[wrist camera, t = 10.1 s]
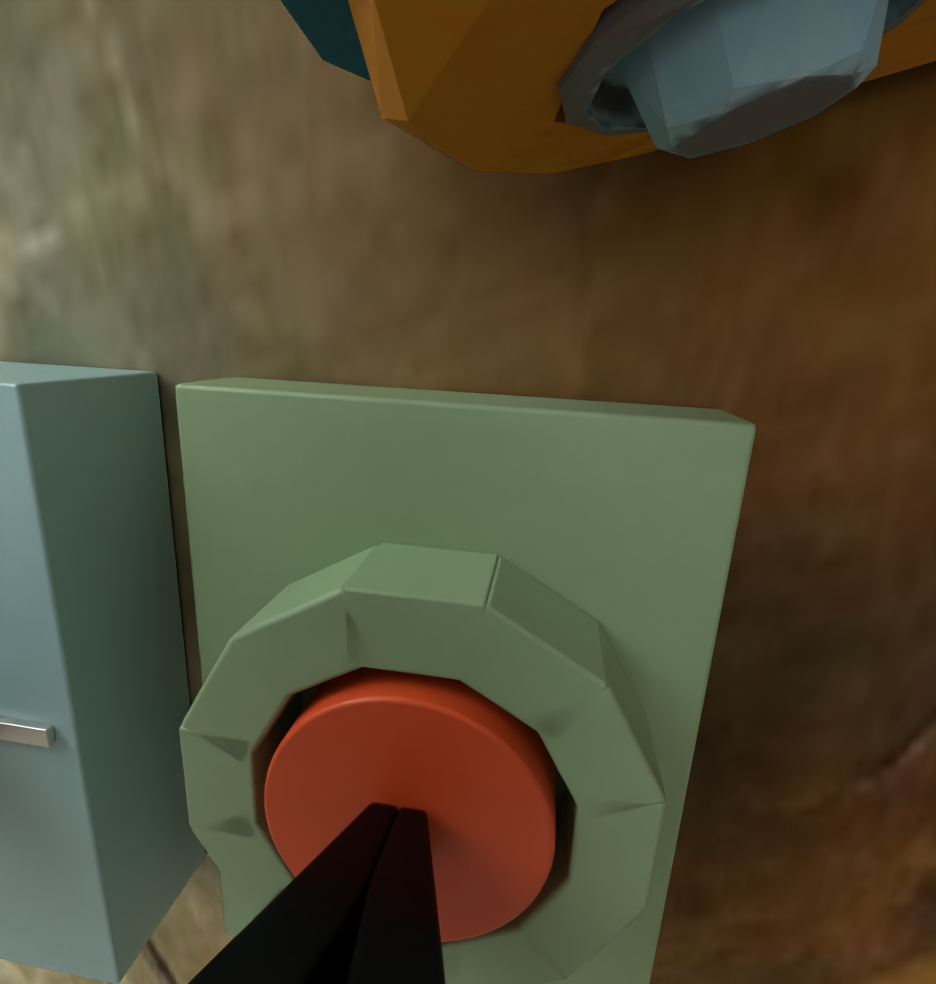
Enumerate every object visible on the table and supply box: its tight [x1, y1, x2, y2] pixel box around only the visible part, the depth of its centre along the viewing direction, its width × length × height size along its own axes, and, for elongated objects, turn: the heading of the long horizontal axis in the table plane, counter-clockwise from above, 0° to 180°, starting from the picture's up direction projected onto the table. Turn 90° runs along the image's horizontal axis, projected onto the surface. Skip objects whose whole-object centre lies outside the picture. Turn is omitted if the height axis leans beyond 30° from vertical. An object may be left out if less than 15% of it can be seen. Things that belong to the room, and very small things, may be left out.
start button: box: [264, 667, 556, 942], centre depth 9 cm, size 4×4×2 cm
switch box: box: [175, 377, 756, 984], centre depth 10 cm, size 9×12×4 cm
